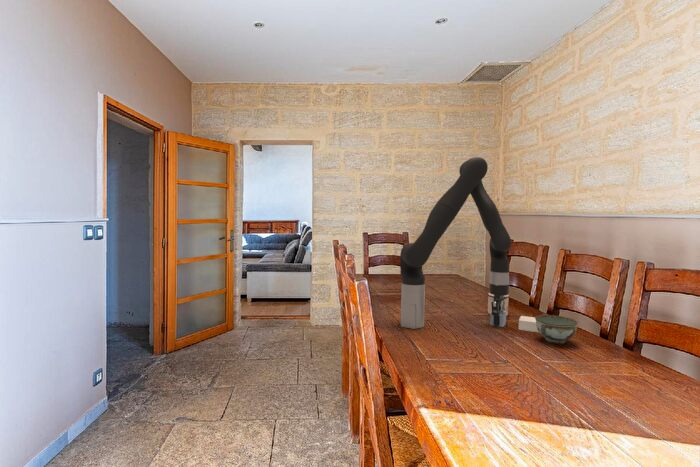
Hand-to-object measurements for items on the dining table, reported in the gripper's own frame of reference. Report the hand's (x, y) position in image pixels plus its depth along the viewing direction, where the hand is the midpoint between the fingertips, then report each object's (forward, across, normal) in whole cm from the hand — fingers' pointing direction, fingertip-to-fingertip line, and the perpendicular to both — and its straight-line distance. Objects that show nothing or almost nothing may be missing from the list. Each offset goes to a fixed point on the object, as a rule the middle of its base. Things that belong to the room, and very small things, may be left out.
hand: (498, 323), depth 158 cm
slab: (+1, -2, +12) cm, 12 cm away
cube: (0, 0, 0) cm, 0 cm away
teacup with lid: (+1, -19, -5) cm, 20 cm away
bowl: (+1, +10, +22) cm, 24 cm away
